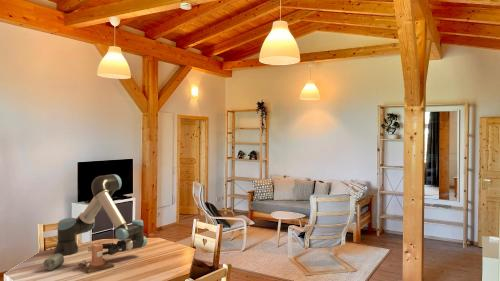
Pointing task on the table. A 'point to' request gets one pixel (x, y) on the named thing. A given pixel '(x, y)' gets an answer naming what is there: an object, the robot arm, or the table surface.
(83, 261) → the dowels
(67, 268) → the table surface
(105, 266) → the plate
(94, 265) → the tall pillar on disc
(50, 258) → the spool
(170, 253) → the table surface
